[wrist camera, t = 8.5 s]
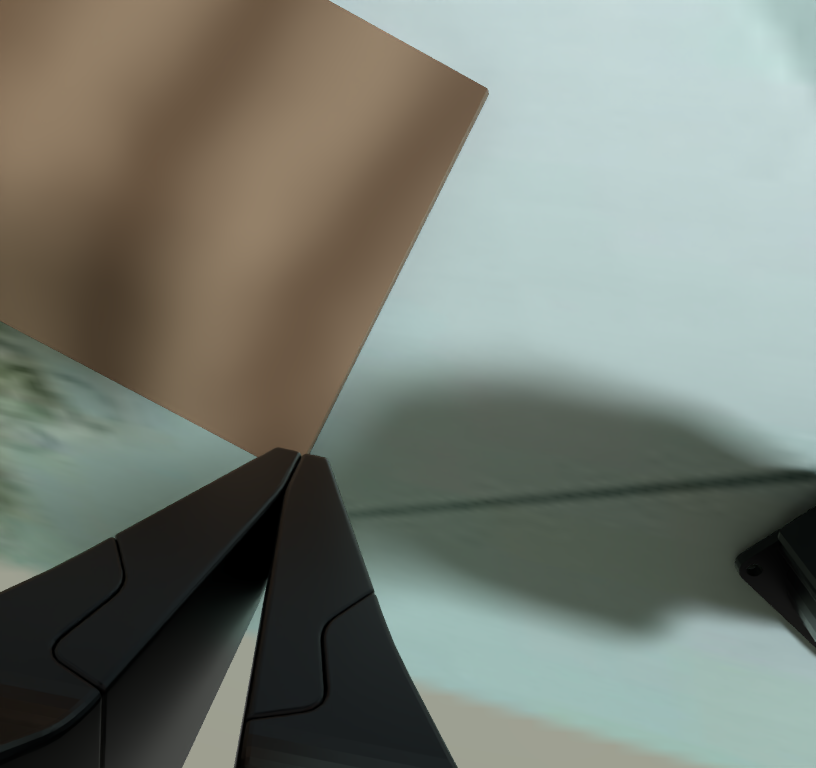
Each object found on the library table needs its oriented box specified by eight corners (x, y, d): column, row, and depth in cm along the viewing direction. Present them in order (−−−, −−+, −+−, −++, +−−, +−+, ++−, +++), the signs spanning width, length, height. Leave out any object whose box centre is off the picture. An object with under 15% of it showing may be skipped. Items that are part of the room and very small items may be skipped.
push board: (488, 93, 16) (487, 88, 15) (305, 461, 22) (294, 476, 21) (-303, -346, 16) (-364, -384, 15) (-292, 144, 21) (-337, 143, 20)
